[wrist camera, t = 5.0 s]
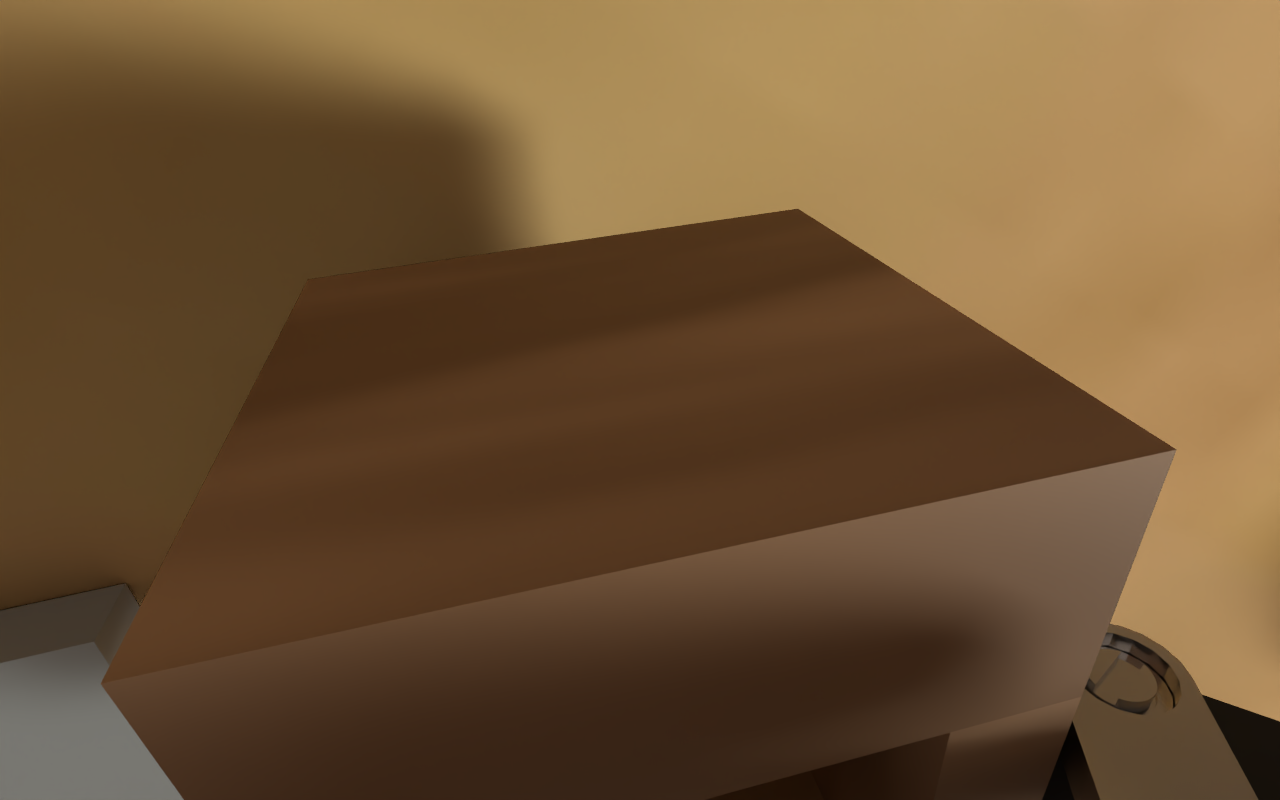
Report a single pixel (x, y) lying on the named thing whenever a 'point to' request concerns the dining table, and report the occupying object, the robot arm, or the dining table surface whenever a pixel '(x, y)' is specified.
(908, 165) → the dining table surface
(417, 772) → the block
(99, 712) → the base plate
